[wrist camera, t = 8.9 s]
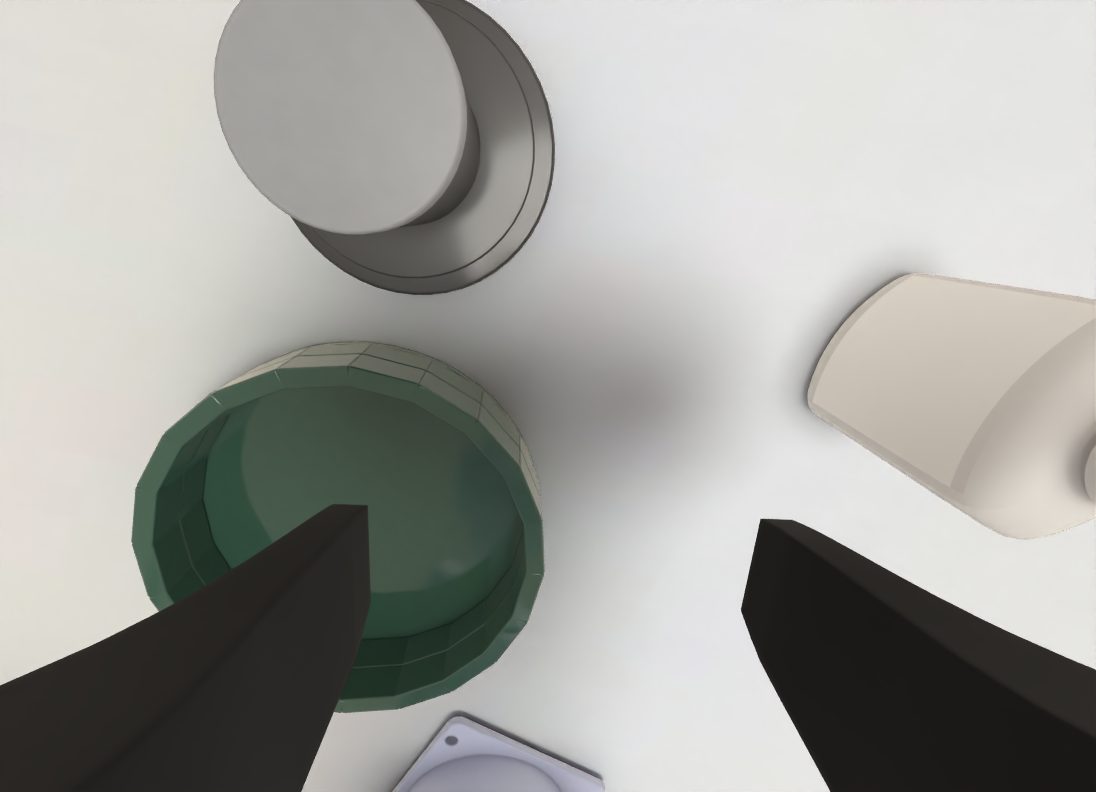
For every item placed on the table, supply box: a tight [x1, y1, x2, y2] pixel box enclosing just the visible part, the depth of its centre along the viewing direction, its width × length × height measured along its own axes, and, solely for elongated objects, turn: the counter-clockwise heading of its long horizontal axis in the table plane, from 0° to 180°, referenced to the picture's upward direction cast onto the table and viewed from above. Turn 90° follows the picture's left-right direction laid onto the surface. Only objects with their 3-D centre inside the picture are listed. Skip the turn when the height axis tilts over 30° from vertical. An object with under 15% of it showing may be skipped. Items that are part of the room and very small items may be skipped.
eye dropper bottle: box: [807, 273, 1096, 540], centre depth 13 cm, size 4×6×12 cm
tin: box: [132, 342, 544, 713], centre depth 18 cm, size 12×12×3 cm
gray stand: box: [291, 0, 555, 295], centre depth 15 cm, size 8×8×2 cm
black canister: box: [214, 0, 481, 235], centre depth 12 cm, size 4×4×6 cm
